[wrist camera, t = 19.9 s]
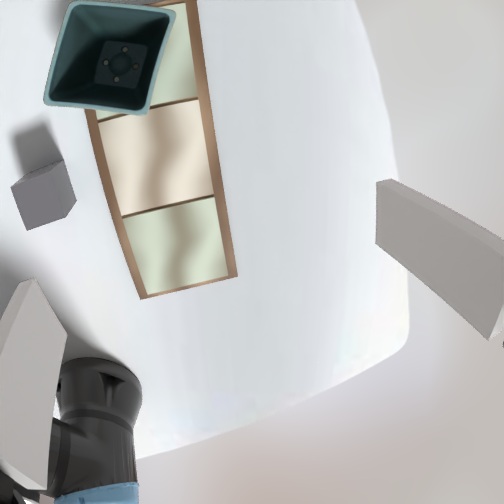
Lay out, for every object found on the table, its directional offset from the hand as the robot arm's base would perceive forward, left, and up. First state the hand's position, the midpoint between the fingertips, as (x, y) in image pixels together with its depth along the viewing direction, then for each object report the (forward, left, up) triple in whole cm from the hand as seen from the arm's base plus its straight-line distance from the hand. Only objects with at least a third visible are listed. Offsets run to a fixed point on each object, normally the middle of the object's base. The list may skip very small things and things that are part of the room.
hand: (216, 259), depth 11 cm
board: (-3, -1, -25) cm, 25 cm away
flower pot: (-5, +10, -25) cm, 27 cm away
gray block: (-15, -1, -25) cm, 30 cm away
